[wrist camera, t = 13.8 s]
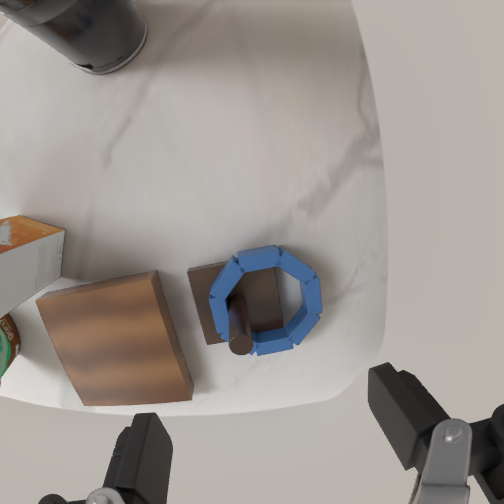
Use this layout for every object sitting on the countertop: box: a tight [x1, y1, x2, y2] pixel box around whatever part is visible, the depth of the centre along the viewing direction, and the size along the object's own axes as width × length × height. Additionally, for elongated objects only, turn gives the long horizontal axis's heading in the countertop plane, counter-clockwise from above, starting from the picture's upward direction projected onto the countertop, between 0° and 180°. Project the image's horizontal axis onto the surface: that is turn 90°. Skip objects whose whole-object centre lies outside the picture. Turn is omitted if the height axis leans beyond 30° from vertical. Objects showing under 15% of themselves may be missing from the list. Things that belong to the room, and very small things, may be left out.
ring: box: [209, 245, 322, 356], centre depth 31 cm, size 11×11×2 cm
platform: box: [36, 271, 194, 406], centre depth 32 cm, size 16×16×3 cm
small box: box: [0, 215, 65, 318], centre depth 24 cm, size 8×6×13 cm
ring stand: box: [187, 261, 284, 355], centre depth 29 cm, size 9×9×10 cm
